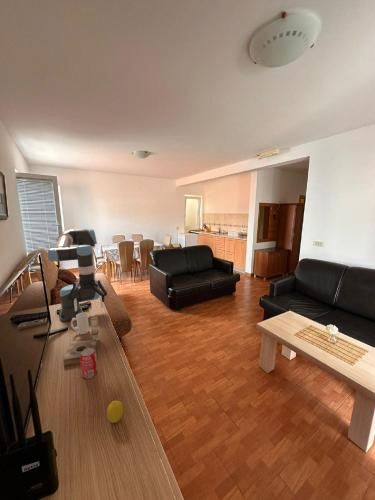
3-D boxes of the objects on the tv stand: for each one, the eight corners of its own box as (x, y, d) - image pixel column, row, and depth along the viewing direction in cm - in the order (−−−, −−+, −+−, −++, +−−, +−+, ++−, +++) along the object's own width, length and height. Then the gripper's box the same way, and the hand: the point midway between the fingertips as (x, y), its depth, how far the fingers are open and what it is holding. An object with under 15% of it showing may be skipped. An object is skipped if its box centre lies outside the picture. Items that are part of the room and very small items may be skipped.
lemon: (105, 420, 77) (103, 402, 76) (119, 411, 81) (118, 393, 79) (111, 431, 73) (110, 412, 72) (126, 421, 77) (125, 402, 76)
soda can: (91, 366, 104) (89, 345, 102) (100, 372, 101) (99, 349, 99) (78, 376, 98) (75, 353, 96) (87, 382, 95) (85, 358, 93)
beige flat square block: (69, 349, 118) (69, 343, 117) (96, 344, 122) (96, 339, 122) (63, 366, 105) (63, 359, 104) (94, 360, 109) (93, 354, 109)
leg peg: (92, 338, 128) (90, 317, 126) (99, 337, 129) (97, 316, 127) (91, 342, 124) (89, 320, 122) (99, 341, 125) (97, 319, 123)
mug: (88, 328, 140) (87, 311, 138) (89, 332, 134) (88, 315, 132) (71, 332, 135) (69, 314, 133) (72, 337, 129) (70, 319, 127)
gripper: (58, 276, 109) (62, 314, 113) (109, 272, 116) (111, 308, 120) (62, 272, 116) (66, 308, 120) (110, 269, 123) (112, 303, 127)
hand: (89, 308), depth 120 cm, fingers open, 13 cm apart
